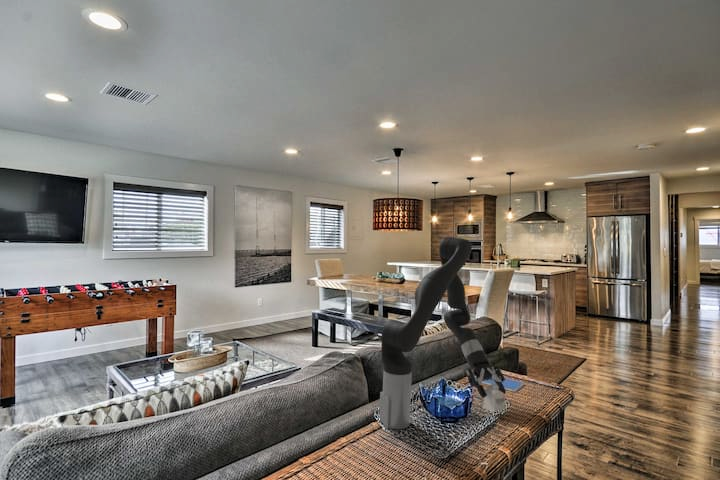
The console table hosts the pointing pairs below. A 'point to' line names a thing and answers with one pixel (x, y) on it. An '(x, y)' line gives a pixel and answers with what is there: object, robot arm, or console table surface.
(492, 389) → the cylinder
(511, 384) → the tablet computer
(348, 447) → the console table surface
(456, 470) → the console table surface
